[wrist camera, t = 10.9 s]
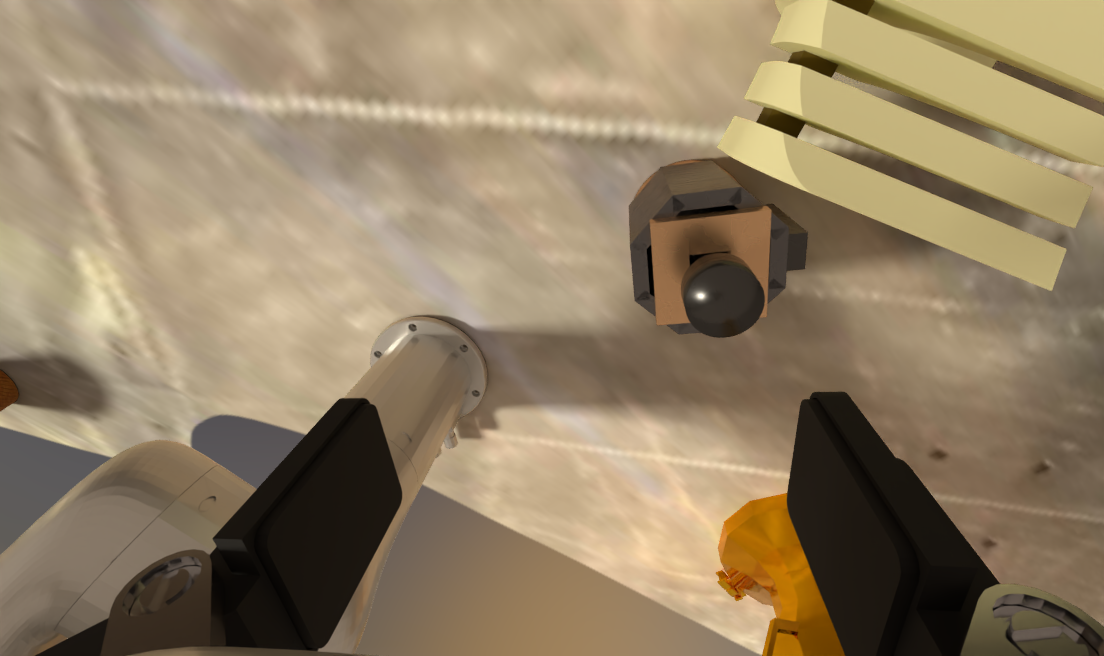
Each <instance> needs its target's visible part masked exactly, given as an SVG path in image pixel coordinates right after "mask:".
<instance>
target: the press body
mask: <svg viewBox="0 0 1104 656" xmlns="http://www.w3.org/2000/svg"><path fill="white" fill-rule="evenodd" d="M727 205H728V206H729V208H730V210H727V211H718V212H710V213H701V214H693V215H684V216H676V215H677V214H678V213H679V212H680V211H685V210H693V209H702V208H710V207H718V206H727ZM629 226H630V250H631V262H632V273H633V285H634V297H635V301H636V302H637V303H638V304H640V305H641V306H642V307H644V308H645V309H646V310H648V311H649V312H650V313H652V314H653V315H654V316H656V323H657V325H667V326H669V327H670V328H671V329H673V330H674V331H675V332H677V333H678V334H688V333H701V332H700V331H698V330H697V329H696V328H694V327H693V325H692V324H691V323H690V321H689V320H688V317H687V315H686V311H685V307H684V303H683V300H682V296H681V281H682V278H683V276H684V274H685V272H686V271H687V269H688V268H689V267H690V262H689V255H695V254H705V253H715V252H722V253H727V254H732V255H735V256H737V257H739V258H741V259H742V260H743V261H744V262H745V263H747V265H748V266H749V267H750V269H751V270H752V272H753V273H754V275H755V276H756V278H757V279H758V281H759V282H760V284H761V286H762V288H763V290H764V294H765V304H764V309H763V311H762V314H761V315H760V317H767V304H768V303H769V302H770V301H771V300H772V299H774V298H775V297H776V296H777V295H778V294H779V293H780V292H781V291H782V290H784V289H785V286H786V271H790V270H801V269H805V262H806V249H807V236H808V232H807V231H805V230H804V229H803V228H802V227H801V226H799V225H798V224H797V223H796V222H795V221H793V220H792V219H791V218H790V217H788V216H787V215H786V214H785V213H784V212H782V211H781V210H780V209H779V208H777V207H776V206H775V205H774V204H766V205H763V204H762V203H761V202H760V201H759V200H757V199H756V198H755V197H754V196H753V195H752V194H751V193H750V192H748V191H747V190H746V189H745V188H744V187H743V186H741V185H740V184H739V183H738V182H737V180H736V179H735V178H734V177H733V176H732V175H731V174H729V173H728V172H727V171H726V170H724V169H723V168H721V167H719V166H718V165H717V164H716V163H714V162H713V161H712V160H708V161H701V160H684V161H679V162H675V163H672V164H669V165H667V166H664V167H660V169H659V170H658V171H657V172H655V173H654V174H653V175H651V176H650V177H649V178H648V179H647V180H646V181H645V182H644V183H643V185H642V186H641V187H640V189H639V190H638V192H637V194H636V196H635V198H634V200H633V201H632V203H631V204H630V205H629ZM760 317H759V318H760Z"/></svg>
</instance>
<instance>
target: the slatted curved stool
mask: <svg viewBox="0 0 1104 656" xmlns="http://www.w3.org/2000/svg"><path fill="white" fill-rule="evenodd" d="M775 3H776V6H777V8H778V11H779V13H780V14H781V18H780V21H779V24H778V26H777V29H776V31H775V34H774V36H773V38H772V41H771V43H770V45H773V46H775V47H778V48H780V49H782V50H785V51H787V52H790V53H792V55H791V57H790V59H789V61H788V63H787V62H781V61H771V62H764V63H761V65H760V67H759V69H758V71H757V73H756V75H755V77H754V79H753V81H752V83H751V85H750V87H749V89H748V91H747V93H746V95H745V97H744V99H745V100H748V101H750V102H753V103H755V104H757V105H760V106H762V107H764V109H763V111H762V112H761V114H760V116H759V118H758V120H757V122H753V121H750V120H747V119H744V118H741V117H737V116H734V118H733V120H732V121H731V123H730V125H729V127H728V129H727V131H726V132H725V134H724V136H723V138H722V139H721V141H720V143H719V145H718V147H717V148H719V149H720V150H722V151H723V152H725V153H726V154H727V155H729V156H730V157H732V158H734V159H736V160H738V161H740V162H742V163H744V164H746V165H748V166H750V167H752V168H754V169H756V170H758V171H761V172H763V173H765V174H767V175H769V176H772V177H774V178H776V179H778V180H781V181H783V182H785V183H788V184H790V185H792V186H794V187H797V188H799V189H802V190H804V191H806V192H809V193H811V194H814V195H816V196H818V197H821V198H823V199H826V200H828V201H831V202H833V203H836V204H838V205H841V206H843V207H846V208H848V209H850V210H853V211H855V212H858V213H860V214H863V215H865V216H868V217H870V218H873V219H875V220H878V221H880V222H882V223H885V224H887V225H890V226H892V227H895V228H897V229H900V230H902V231H905V232H907V233H910V234H912V235H914V236H917V237H919V238H922V239H924V240H927V241H929V242H932V243H934V244H937V245H939V246H942V247H944V248H946V249H949V250H951V251H954V252H956V253H959V254H961V255H964V256H966V257H969V258H971V259H974V260H976V261H978V262H981V263H983V264H986V265H988V266H991V267H993V268H996V269H998V270H1001V271H1003V272H1006V273H1008V274H1010V275H1013V276H1015V277H1018V278H1020V279H1023V280H1025V281H1028V282H1030V283H1033V284H1035V285H1038V286H1040V287H1042V288H1045V289H1047V290H1050V291H1052V289H1053V286H1054V283H1055V280H1056V278H1057V275H1058V272H1059V269H1060V266H1061V264H1062V261H1063V258H1064V255H1065V252H1066V250H1067V249H1065V248H1063V247H1060V246H1058V245H1055V244H1053V243H1050V242H1048V241H1046V240H1043V239H1041V238H1038V237H1036V236H1033V235H1031V234H1028V233H1026V232H1024V231H1021V230H1019V229H1016V228H1014V227H1011V226H1009V225H1007V224H1004V223H1002V222H999V221H997V220H994V219H992V218H990V217H987V216H985V215H982V214H980V213H977V212H975V211H972V210H970V209H968V208H965V207H963V206H960V205H958V204H955V203H953V202H951V201H948V200H946V199H943V198H941V197H938V196H936V195H934V194H931V193H929V192H926V191H924V190H921V189H919V188H916V187H914V186H912V185H909V184H907V183H904V182H902V181H899V180H897V179H895V178H892V177H890V176H887V175H885V174H882V173H880V172H878V171H875V170H873V169H870V168H868V167H865V166H863V165H860V164H858V163H856V162H853V161H851V160H848V159H846V158H843V157H841V156H839V155H836V154H834V153H831V152H829V151H826V150H824V149H822V148H819V147H817V146H814V145H812V144H809V143H807V142H804V141H802V140H800V139H797V137H798V135H799V133H800V132H801V130H802V128H803V126H804V125H805V124H806V125H808V126H811V127H813V128H816V129H818V130H821V131H823V132H826V133H829V134H832V135H835V136H838V137H840V138H843V139H846V140H849V141H851V142H854V143H857V144H859V145H862V146H865V147H867V148H870V149H872V150H875V151H877V152H880V153H883V154H885V155H888V156H890V157H893V158H895V159H898V160H900V161H903V162H905V163H908V164H910V165H913V166H915V167H918V168H920V169H923V170H925V171H928V172H930V173H933V174H935V175H938V176H940V177H943V178H945V179H948V180H950V181H953V182H955V183H958V184H960V185H962V186H965V187H967V188H970V189H972V190H975V191H977V192H980V193H982V194H985V195H987V196H989V197H992V198H994V199H997V200H999V201H1002V202H1004V203H1007V204H1009V205H1011V206H1014V207H1016V208H1019V209H1021V210H1024V211H1026V212H1028V213H1031V214H1033V215H1036V216H1038V217H1041V218H1044V219H1047V220H1050V221H1053V222H1056V223H1059V224H1063V225H1066V226H1069V227H1072V228H1075V227H1076V225H1077V223H1078V221H1079V218H1080V216H1081V214H1082V212H1083V209H1084V207H1085V205H1086V203H1087V200H1088V198H1089V196H1090V194H1091V191H1092V189H1093V187H1091V186H1089V185H1086V184H1084V183H1081V182H1079V181H1077V180H1074V179H1072V178H1069V177H1067V176H1065V175H1062V174H1060V173H1057V172H1055V171H1053V170H1050V169H1048V168H1046V167H1043V166H1041V165H1038V164H1036V163H1034V162H1031V161H1029V160H1026V159H1024V158H1022V157H1019V156H1017V155H1014V154H1012V153H1010V152H1007V151H1005V150H1002V149H1000V148H998V147H995V146H993V145H990V144H988V143H986V142H983V141H981V140H978V139H976V138H974V137H971V136H969V135H966V134H964V133H962V132H959V131H957V130H955V129H952V128H950V127H947V126H945V125H943V124H940V123H938V122H935V121H933V120H931V119H928V118H926V117H923V116H921V115H919V114H916V113H914V112H911V111H909V110H907V109H904V108H902V107H899V106H897V105H895V104H892V103H890V102H887V101H885V100H883V99H880V98H878V97H875V96H873V95H871V94H868V93H866V92H863V91H861V90H859V89H856V88H854V87H852V86H849V85H847V84H844V83H842V82H840V81H837V80H835V79H832V78H831V77H832V76H833V74H834V72H837V73H840V74H842V75H845V76H847V77H849V78H852V79H854V80H856V81H859V82H863V83H867V84H870V85H874V86H877V87H880V88H883V89H887V90H890V91H893V92H896V93H898V94H901V95H904V96H907V97H910V98H913V99H915V100H918V101H921V102H924V103H926V104H929V105H932V106H934V107H937V108H940V109H942V110H945V111H948V112H950V113H953V114H955V115H958V116H960V117H963V118H966V119H968V120H971V121H973V122H976V123H978V124H981V125H983V126H986V127H988V128H991V129H993V130H996V131H998V132H1001V133H1003V134H1006V135H1008V136H1011V137H1013V138H1015V139H1018V140H1020V141H1023V142H1025V143H1028V144H1030V145H1033V146H1035V147H1037V148H1040V149H1042V150H1045V151H1047V152H1050V153H1052V154H1054V155H1057V156H1059V157H1062V158H1064V159H1066V160H1069V161H1073V162H1078V163H1084V164H1090V165H1095V166H1101V167H1104V116H1102V115H1100V114H1098V113H1095V112H1093V111H1091V110H1088V109H1086V108H1084V107H1081V106H1079V105H1076V104H1074V103H1072V102H1069V101H1067V100H1065V99H1062V98H1060V97H1058V96H1055V95H1053V94H1051V93H1048V92H1046V91H1043V90H1041V89H1039V88H1036V87H1034V86H1032V85H1029V84H1027V83H1025V82H1022V81H1020V80H1018V79H1015V78H1013V77H1010V76H1008V75H1006V74H1003V73H1001V72H999V71H996V70H994V69H992V67H993V66H994V64H995V63H996V61H997V60H998V61H1000V62H1003V63H1006V64H1008V65H1011V66H1013V67H1016V68H1018V69H1021V70H1024V71H1026V72H1029V73H1031V74H1034V75H1036V76H1039V77H1041V78H1044V79H1046V80H1048V81H1051V82H1053V83H1056V84H1058V85H1061V86H1063V87H1066V88H1068V89H1070V90H1073V91H1075V92H1078V93H1080V94H1082V95H1085V96H1087V97H1090V98H1092V99H1094V100H1097V101H1099V102H1102V103H1104V0H775Z"/></svg>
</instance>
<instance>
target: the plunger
mask: <svg viewBox="0 0 1104 656" xmlns="http://www.w3.org/2000/svg"><path fill="white" fill-rule="evenodd" d="M727 210H730V208H729V206H728V205H727V206H718V207H710V208H702V209H693V210H685V211H680V212H679V213H678V214H677V215H676V216H684V215H693V214H701V213H710V212H718V211H727ZM689 262H690V267H689V268H688V269H687V271H686V272H685V274H684V276H683V278H682V281H681V296H682V300H683V303H684V307H685V311H686V315H687V317H688V320H689V321H690V323H691V324H692V325H693V327H694V328H696V329H697V330H698V331H700V332H701V333H703V334H705V335H708V336H712V337H719V338H720V337H731V336H735V335H738V334H740V333H742V332H744V331H746V330H747V329H749V328H750V327H751V326H753V325H754V324H755V323H756V321H757V320H758V319H759V317H760V315H761V314H762V311H763V309H764V304H765V294H764V290H763V288H762V286H761V284H760V282H759V281H758V279H757V278H756V276H755V275H754V273H753V272H752V270H751V269H750V267H749V266H748V265H747V263H745V262H744V261H743V260H742V259H741V258H739V257H737V256H735V255H732V254H727V253H722V252H715V253H705V254H695V255H689Z"/></svg>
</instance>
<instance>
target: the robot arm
mask: <svg viewBox="0 0 1104 656" xmlns="http://www.w3.org/2000/svg"><path fill="white" fill-rule="evenodd" d="M370 365H371V368H370V369H369V370H368V371H367V373H366V374H365V375H364V376H363V377H362V378H361V379H360V380H359V382H358V383H357V384H356V385H355V386H354V387H353V388H352V389H351V390H350V392H349V393H348V394H347V395H346V396H345V397H344V398H342V399H339V400H338V401H337V402H336V403H335V404H334V405H333V406H332V407H331V408H330V409H329V410H328V412H327V413H326V414H325V415H324V416H323V417H322V418H321V419H320V420H319V421H318V423H317V424H316V425H315V426H314V427H313V428H312V429H311V430H310V431H309V432H308V434H307V435H306V436H305V437H304V438H303V439H302V440H301V441H300V442H299V443H298V445H297V446H296V447H295V448H294V449H293V450H292V451H291V452H290V454H288V456H287V457H286V458H285V459H284V460H283V461H282V462H281V463H280V464H279V466H278V467H277V468H276V469H275V470H274V471H273V472H272V473H271V474H270V475H269V476H268V478H267V479H266V480H265V481H264V482H263V483H262V484H261V485H260V486H259V488H258V489H256V488H254V487H252V486H251V485H250V484H248V483H246V482H245V481H244V480H242V479H241V478H239V477H238V476H236V475H235V474H233V473H232V472H230V471H228V470H227V469H225V468H224V467H222V466H221V465H219V464H217V463H216V462H214V461H213V460H211V459H210V458H208V457H207V456H205V455H203V454H202V453H200V452H198V451H196V450H195V449H193V448H191V447H189V446H186V445H184V444H181V443H178V442H173V441H168V440H155V441H149V442H144V443H141V444H138V445H135V446H133V447H131V448H129V449H127V450H125V451H123V452H121V453H119V454H117V455H116V456H114V457H113V458H111V459H110V460H108V461H107V462H106V463H104V464H103V465H101V466H100V467H99V468H97V469H96V470H94V471H93V472H92V473H90V474H89V475H88V476H87V477H85V478H84V479H83V480H82V481H81V482H80V483H78V484H77V485H76V486H75V487H73V488H72V489H71V490H70V491H69V492H68V493H67V494H66V495H65V496H63V497H62V498H61V499H60V500H59V501H58V502H57V503H56V504H55V505H54V506H52V508H50V509H49V510H48V511H47V512H46V513H45V514H44V515H43V516H41V517H40V518H39V519H38V520H37V521H36V522H35V523H34V524H33V525H32V526H31V527H30V528H29V529H28V530H27V531H25V533H23V534H22V535H21V536H20V537H19V538H18V539H17V540H16V541H15V542H14V543H13V544H12V545H11V546H10V547H9V548H8V549H7V550H6V551H5V552H3V553H2V554H1V555H0V656H376V655H363V654H354V653H355V651H356V649H357V647H358V645H359V642H360V640H361V637H362V634H363V632H364V629H365V626H366V623H367V620H368V617H369V613H370V610H371V606H372V603H373V600H374V596H375V593H376V589H377V586H378V583H379V579H380V576H381V573H382V570H383V568H384V565H385V562H386V560H387V557H388V554H389V552H390V549H391V547H392V545H393V542H394V540H395V537H396V536H397V533H398V531H399V529H400V527H401V525H402V523H403V521H404V518H405V517H406V515H407V513H408V511H409V509H410V507H411V505H412V503H413V501H414V499H415V497H416V495H417V493H418V491H419V489H420V487H421V485H422V483H423V481H424V479H425V477H426V475H427V473H428V471H429V469H430V467H431V465H432V464H433V462H434V460H435V458H437V457H438V456H439V455H440V454H441V446H442V444H443V442H444V444H445V447H446V448H449V449H451V448H454V447H456V446H457V444H458V441H457V438H456V435H455V433H454V428H455V426H456V424H457V422H458V420H459V418H461V417H464V416H465V415H467V414H468V413H470V412H471V411H472V410H473V409H474V408H476V407H477V406H478V404H479V402H480V401H481V399H482V397H483V395H484V393H485V390H486V386H487V381H488V378H487V368H486V364H485V360H484V358H483V356H482V354H481V352H480V350H479V349H478V347H477V346H476V345H475V343H474V342H473V341H472V340H471V339H470V338H469V337H468V336H467V335H466V334H465V333H464V332H462V331H461V330H459V329H458V328H457V327H455V326H453V325H451V324H449V323H447V322H445V321H442V320H438V319H435V318H430V317H409V318H405V319H401V320H399V321H397V322H394V323H392V324H391V325H390V326H388V327H387V328H386V329H385V330H384V331H383V332H382V333H381V334H380V335H379V336H378V338H377V339H376V341H375V343H374V344H373V347H372V350H371V358H370ZM787 509H788V513H789V516H790V519H791V521H792V524H793V526H794V529H795V531H796V534H797V536H798V539H799V541H800V544H801V546H802V549H803V551H804V554H805V556H806V559H807V561H808V564H809V566H810V569H811V571H812V574H813V576H814V579H815V581H816V584H817V586H818V589H819V591H820V594H821V596H822V599H823V601H824V604H825V606H826V609H827V611H828V614H829V616H830V619H831V621H832V624H833V626H834V629H835V631H836V634H837V636H838V639H839V641H840V644H841V646H842V649H843V651H844V654H845V656H1104V627H1103V626H1102V625H1101V624H1100V623H1099V622H1097V621H1096V620H1095V619H1093V618H1092V617H1091V616H1089V615H1088V614H1086V613H1085V612H1084V611H1082V610H1081V609H1080V608H1078V607H1076V606H1074V605H1072V604H1070V603H1068V602H1067V601H1065V600H1063V599H1061V598H1059V597H1057V596H1055V595H1052V594H1050V593H1047V592H1044V591H1042V590H1039V589H1036V588H1033V587H1028V586H1023V585H1018V584H1000V583H999V582H998V580H997V579H996V578H995V577H994V575H993V574H992V573H991V571H990V570H989V569H988V567H987V566H986V565H985V564H984V562H983V561H982V560H981V558H980V557H979V556H978V555H977V553H976V552H975V551H974V549H973V548H972V547H971V545H970V544H969V543H968V542H967V540H966V539H965V538H964V536H963V535H962V534H961V533H960V531H959V530H958V529H957V527H956V526H955V525H954V523H953V522H952V521H951V520H950V518H949V517H948V516H947V514H946V513H945V512H944V510H943V509H942V508H941V507H940V505H939V504H938V503H937V501H936V500H935V499H934V498H933V496H932V495H931V494H930V492H929V491H928V490H927V488H926V487H925V486H924V485H923V483H922V482H921V481H920V479H919V478H918V477H917V476H916V474H915V473H914V472H913V470H912V469H911V468H910V467H909V466H908V465H907V464H906V463H905V462H904V461H903V460H901V459H898V458H895V456H894V455H893V454H892V452H891V451H890V450H889V448H888V447H887V446H886V444H885V443H884V442H883V440H882V439H881V438H880V436H879V435H878V434H877V432H876V431H875V430H874V429H873V427H872V426H871V425H870V423H869V422H868V421H867V419H866V418H865V417H864V415H863V414H862V413H861V411H860V410H859V409H858V407H857V406H856V405H855V403H854V402H853V401H852V399H851V398H850V397H849V395H848V394H847V393H845V392H814V393H812V395H811V396H810V399H804V400H802V402H801V405H800V411H799V418H798V425H797V432H796V438H795V445H794V452H793V458H792V465H791V472H790V479H789V485H788V492H787ZM67 638H68V639H67Z"/></svg>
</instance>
